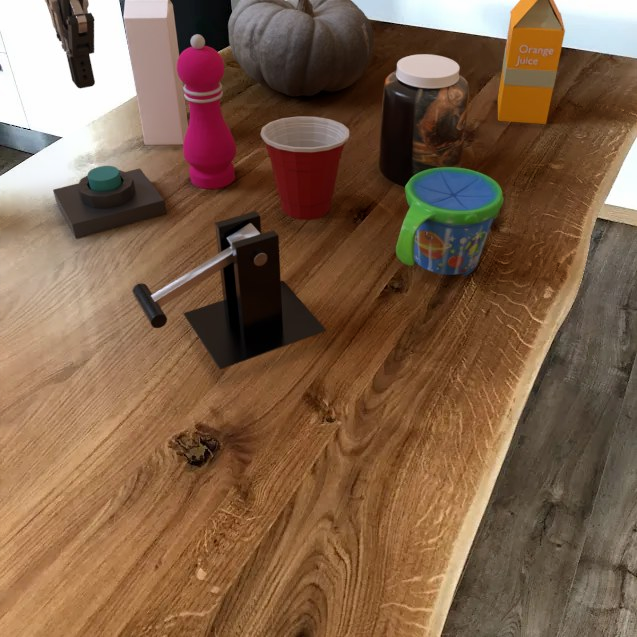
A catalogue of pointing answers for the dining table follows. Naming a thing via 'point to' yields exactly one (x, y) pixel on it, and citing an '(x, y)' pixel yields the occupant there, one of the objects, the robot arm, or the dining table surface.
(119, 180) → the button
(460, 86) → the jar
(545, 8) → the orange juice
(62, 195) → the control block
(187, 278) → the lever
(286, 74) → the gourd
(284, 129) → the plastic cup
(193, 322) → the bracket
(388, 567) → the dining table surface
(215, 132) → the pepper mill
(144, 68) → the milk
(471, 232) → the snack cup
